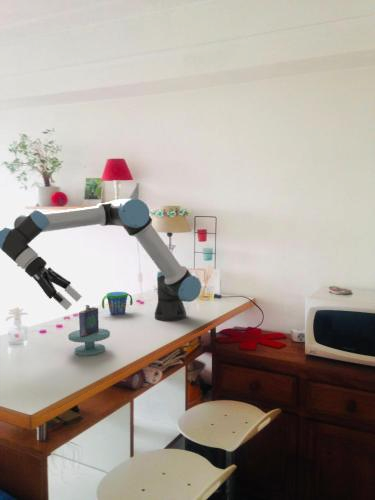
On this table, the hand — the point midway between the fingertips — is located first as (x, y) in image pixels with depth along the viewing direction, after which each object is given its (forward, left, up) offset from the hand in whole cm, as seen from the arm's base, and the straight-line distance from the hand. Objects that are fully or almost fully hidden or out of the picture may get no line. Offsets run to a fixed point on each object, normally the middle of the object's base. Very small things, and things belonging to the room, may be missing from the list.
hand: (74, 303), depth 163 cm
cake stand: (-5, -1, -18) cm, 19 cm away
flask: (-5, -1, -12) cm, 13 cm away
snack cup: (-5, -59, -18) cm, 62 cm away
